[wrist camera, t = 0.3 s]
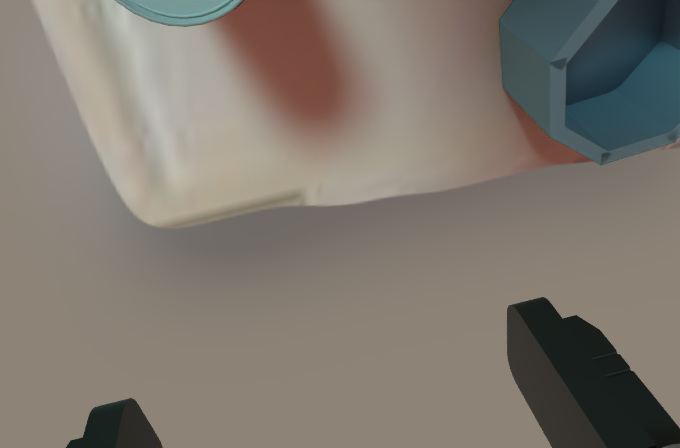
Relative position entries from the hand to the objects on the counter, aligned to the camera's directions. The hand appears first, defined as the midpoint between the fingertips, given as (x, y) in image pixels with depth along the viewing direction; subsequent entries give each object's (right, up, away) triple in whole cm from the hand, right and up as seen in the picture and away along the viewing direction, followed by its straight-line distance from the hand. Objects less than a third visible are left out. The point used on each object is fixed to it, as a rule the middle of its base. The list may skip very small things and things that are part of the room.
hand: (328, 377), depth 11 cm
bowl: (+14, +14, +19) cm, 28 cm away
